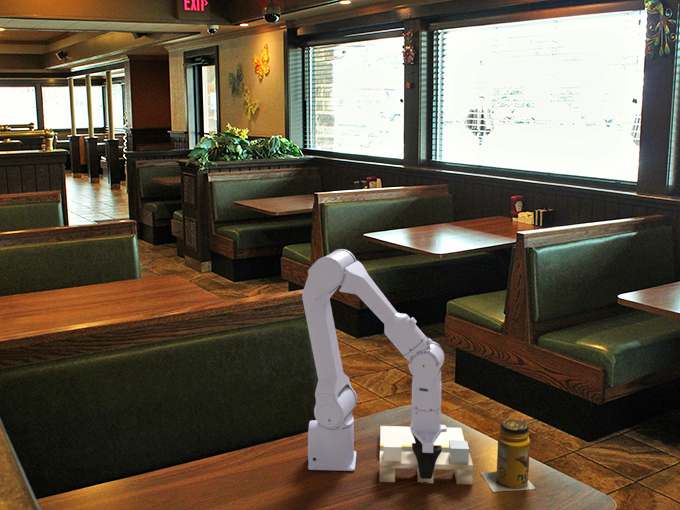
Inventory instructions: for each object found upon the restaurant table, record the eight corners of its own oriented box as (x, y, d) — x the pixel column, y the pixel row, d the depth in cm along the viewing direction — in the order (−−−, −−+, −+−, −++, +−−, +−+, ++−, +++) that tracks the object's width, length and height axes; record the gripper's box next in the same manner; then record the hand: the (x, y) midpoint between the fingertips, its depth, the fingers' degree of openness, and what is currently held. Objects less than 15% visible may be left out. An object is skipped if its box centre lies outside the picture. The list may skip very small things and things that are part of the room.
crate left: (383, 461, 137) (383, 446, 136) (383, 452, 140) (383, 438, 140) (401, 461, 137) (401, 447, 136) (401, 453, 140) (401, 439, 140)
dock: (380, 455, 148) (380, 445, 147) (380, 434, 158) (380, 425, 157) (466, 457, 147) (466, 447, 146) (461, 436, 156) (461, 427, 156)
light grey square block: (450, 462, 136) (450, 448, 135) (448, 454, 139) (449, 440, 139) (468, 463, 136) (468, 448, 135) (466, 454, 139) (466, 440, 139)
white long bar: (379, 481, 137) (379, 462, 136) (379, 469, 142) (379, 450, 141) (472, 484, 136) (472, 465, 135) (469, 471, 141) (469, 453, 140)
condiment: (535, 489, 134) (538, 430, 132) (493, 492, 133) (495, 433, 130) (520, 470, 141) (523, 415, 139) (480, 474, 140) (482, 417, 137)
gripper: (450, 421, 129) (448, 489, 131) (444, 391, 143) (442, 453, 145) (411, 420, 129) (410, 488, 132) (409, 390, 143) (408, 452, 146)
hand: (425, 469), depth 139 cm, fingers open, 6 cm apart
